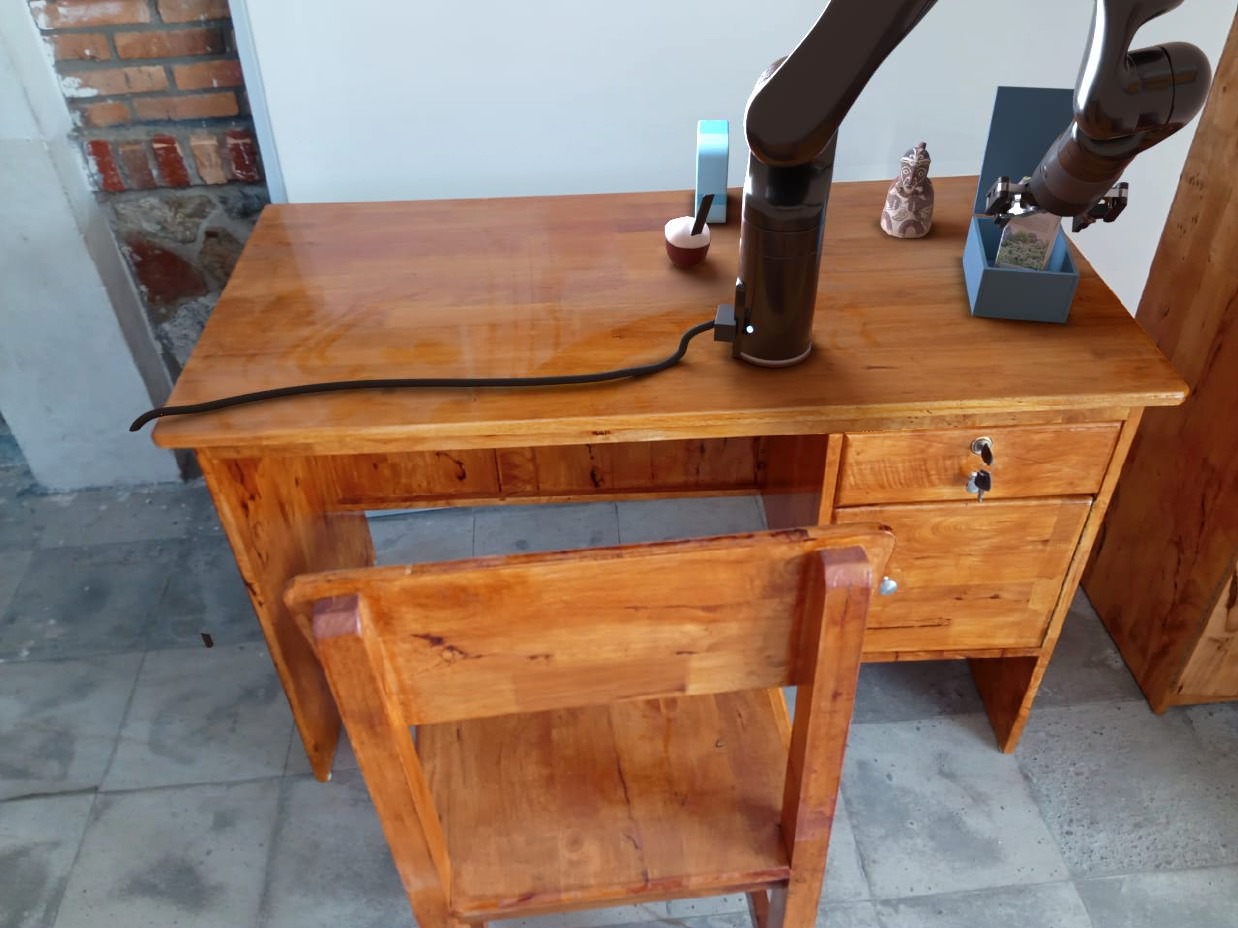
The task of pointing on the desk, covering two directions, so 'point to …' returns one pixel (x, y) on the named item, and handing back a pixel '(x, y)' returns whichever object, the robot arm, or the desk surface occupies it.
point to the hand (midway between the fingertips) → (1037, 222)
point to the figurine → (910, 197)
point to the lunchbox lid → (1021, 133)
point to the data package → (712, 167)
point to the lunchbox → (1017, 279)
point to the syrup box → (1028, 241)
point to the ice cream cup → (689, 237)
